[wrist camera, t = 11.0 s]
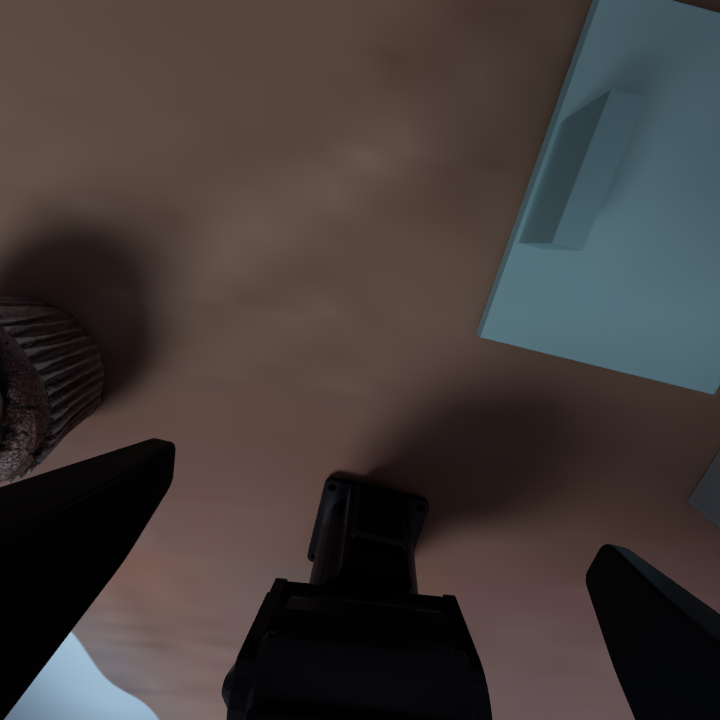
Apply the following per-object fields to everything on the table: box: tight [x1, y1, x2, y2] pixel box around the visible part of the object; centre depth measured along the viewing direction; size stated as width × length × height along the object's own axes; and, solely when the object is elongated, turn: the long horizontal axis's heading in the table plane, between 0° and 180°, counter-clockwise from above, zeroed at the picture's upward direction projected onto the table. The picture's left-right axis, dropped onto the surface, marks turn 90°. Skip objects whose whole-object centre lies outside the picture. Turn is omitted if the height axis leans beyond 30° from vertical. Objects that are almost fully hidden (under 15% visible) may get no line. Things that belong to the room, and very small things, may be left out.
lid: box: [476, 0, 720, 395], centre depth 15 cm, size 14×12×5 cm
